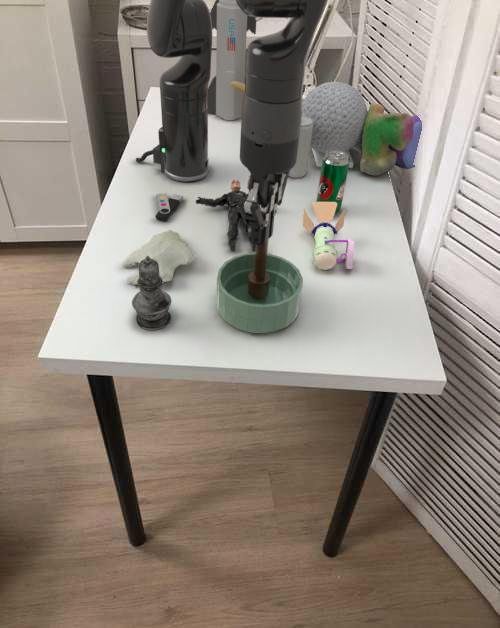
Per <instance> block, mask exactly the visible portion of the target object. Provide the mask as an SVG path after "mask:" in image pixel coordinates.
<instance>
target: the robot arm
mask: <svg viewBox="0 0 500 628" xmlns="http://www.w3.org/2000/svg"><path fill="white" fill-rule="evenodd" d="M328 1H329V0H236V3H237V4H238V6H239V8H240V9H241V10H242V11H243V12H244V13H245V14H246V15H248V16H251V17H256V18H260V19H265V18H271V19H273V18H276V19H278V18H279V19H289V20H288V22H287V23H286V24H285V26H284V27H283V28H282V29H280V30H278V31H276V32H274V33H271V34H267V35H263V36H260V37H257V38H255V39H253V40H251V41H250V42H249V44H248V46H247V48H246V58H245V93H244V100H243V105H242V117H241V118H240V119H241V121H240V143H239V160H240V162H241V164H242V165H243V167H245V168H246V169H247V170H248V172H249V173H250V175H249V176H248V178H247V185H246V186H247V187H246V188H247V190H248V193H247V194H248V197H247V200H245V199H240V201H239V209H240V212H241V215H242V218H243V221H244V224H245V225H247V226H251V227H252V231H251V242H250V244H251V243H252V244H254V245H257V246H261V247H264V246H265V244H266V243H267V231H268V223H269V222H268V221H269V213H270V212H271V217H270V228H269V239H271V237H272V236H273V234H274V224H275V216H276V215H277V213H278V206H279V207H280V206H281V205H282V204H283V197H284V194H285V191H286V188H287V184H288V181H289V177H290V176H289V172H290V170H291V169H292V168H293V167H294V166H295V164H296V160H297V152H298V143H299V135H300V126H301V118H302V98H303V91H304V81H305V73H306V65H307V59H308V55H309V53H310V51H311V50H310V49H311V46H312V44H313V41H314V37H315V34H316V31H317V29H318V25H319V24H320V21H321V19H322V16H323V14H324V13H325V9H326V7H327V5H328ZM148 6H149V7H148V11H147V16H146V35H147V41H148V44H149V48H150V49H151V51H152V52H153V53H154V54H155V55H156V56H158V57H159V58H165V59H168V58H169V59H173V58H179V59H178V60H177V62H176V63H175V64H174V65H172V66H170V67H169V68H168V69H166V70H165V71H164V72H162V74H161V75H160V77H159V93H160V109H161V110H160V111H161V112H160V113H161V127H160V128H159V129H158V144H157V145H156V146H154V147H153V148H152V149H150V150H148V151H146V152H144V153H143V154H142V155H141V156H140V157H136V158H135V162H136V163H143V162H144V161H145V160H146V159H147V158H148V157H150V156H152V157H153V163H154V164H157V165H160V172H161V173H163V174H165V176H166V177H167V178H168V179H170V180H173V181H176V182H184V183H189V182H197V181H200V180H202V179H204V178H205V177H207V176H208V174H209V163H210V161H209V160H210V158H209V113H208V88H209V83H210V80H211V73H212V72H211V71H212V51H213V30H212V21H211V15H210V12H211V11H210V9H209V7H208V5H207V3H206V2H205V0H150V2H149V5H148ZM261 212H262V213H263V216H262V213H261ZM244 224H243V225H244Z"/></svg>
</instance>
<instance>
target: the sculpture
mask: <svg viewBox="0 0 500 628" xmlns="http://www.w3.org/2000/svg"><path fill="white" fill-rule="evenodd" d="M367 111H368V113H367V117H366V120H365V124H364V128H363V135H362V143H361V159H360V162H359V165H360V167H359V168H360V169H359V170H360V172H361V173H365V174H367V175H370V176H381V175H384V174H387V173H389V172H390V171H392V170H393V169H394V167H395V166H396V165H395V163H396V159H397V155H396V152H395V151H393V150H389V149H388V146H389V144H390V145H391V146H392V147H393V148H395V149H396V150H399V151H402V150H403V149H404V148H405V147H406V145H407V144H408V143H409V142H410V141H411V140H412V139H413V126H414V124H415V121H414V118H413V117H412V115H411V114H409V113H407V112H395V113H387V112H386V113H387V114H383V112H385V107H384V105H382V104H381V103H378V102H372V103H370V105H369V107H368V109H367Z"/></svg>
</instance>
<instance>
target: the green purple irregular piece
mask: <svg viewBox="0 0 500 628" xmlns="http://www.w3.org/2000/svg"><path fill="white" fill-rule="evenodd" d="M383 114H387V112H385V111H384V112H383ZM417 115H418V114H417ZM417 115H413V116H412V115H411V116H412V117H413V118H414V121H415V124H414V126H413V139H412V140H411V141H410V142H409V143H408V144H407V145H406V147H405V148H404V149H403V150H402V151H399V150H396V149H395V148H393V147H392V146H391V145H390V144H389V146H388V150H393V151H395V152H396V155H397V159H396V163H395V165H394V166H396V167H397V168H399V169H404V170H411V169H413V168H416V167H415V165H413V163H414V159H415V155H416V151H417V147H418V143H419V139H420V135H421V131H422V121H421V120H420V118H419V117H418V116H419V115H418V116H417ZM358 143H360V144H362V138H361V139H360V140H359V142H358Z"/></svg>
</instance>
